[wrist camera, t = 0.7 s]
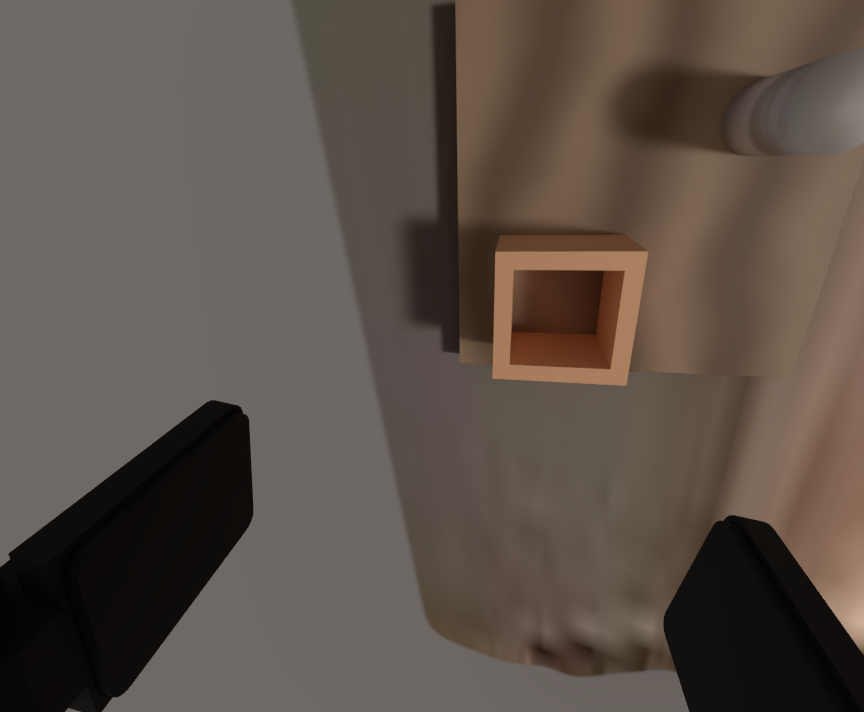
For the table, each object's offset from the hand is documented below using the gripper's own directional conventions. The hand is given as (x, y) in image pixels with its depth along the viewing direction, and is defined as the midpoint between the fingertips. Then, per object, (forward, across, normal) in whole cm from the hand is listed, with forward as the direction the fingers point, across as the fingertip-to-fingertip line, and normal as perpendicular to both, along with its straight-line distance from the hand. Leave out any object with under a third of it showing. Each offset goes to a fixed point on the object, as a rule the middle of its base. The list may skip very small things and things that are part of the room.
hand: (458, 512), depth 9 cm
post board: (+21, -7, -5) cm, 23 cm away
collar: (+20, -4, 0) cm, 20 cm away
